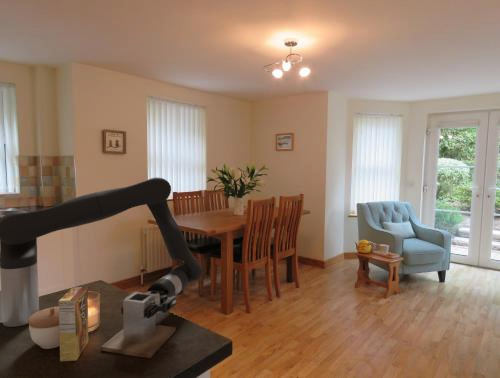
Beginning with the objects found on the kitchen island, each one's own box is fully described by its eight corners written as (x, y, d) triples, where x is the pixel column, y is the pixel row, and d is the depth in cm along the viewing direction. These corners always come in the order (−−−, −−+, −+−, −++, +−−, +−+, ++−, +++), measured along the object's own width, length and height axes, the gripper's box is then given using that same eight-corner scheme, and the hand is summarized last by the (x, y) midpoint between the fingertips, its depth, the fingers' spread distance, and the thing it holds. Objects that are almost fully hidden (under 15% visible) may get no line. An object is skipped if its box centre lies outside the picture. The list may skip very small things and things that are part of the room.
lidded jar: (69, 328, 96) (68, 297, 96) (81, 343, 89) (80, 309, 88) (25, 342, 89) (23, 308, 88) (34, 359, 81) (33, 322, 81)
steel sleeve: (123, 340, 88) (123, 300, 87) (136, 329, 94) (135, 291, 93) (143, 343, 87) (143, 302, 86) (155, 332, 93) (155, 294, 92)
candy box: (72, 342, 89) (71, 287, 88) (89, 341, 90) (88, 286, 88) (59, 362, 80) (57, 300, 79) (78, 360, 81) (76, 299, 80)
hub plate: (101, 350, 85) (100, 337, 85) (132, 324, 99) (132, 313, 99) (150, 358, 82) (149, 344, 82) (175, 330, 96) (175, 319, 95)
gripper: (144, 275, 105) (110, 296, 89) (186, 280, 102) (159, 302, 86) (144, 298, 106) (111, 323, 90) (186, 303, 102) (159, 330, 86)
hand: (135, 313), depth 88 cm, fingers open, 6 cm apart
